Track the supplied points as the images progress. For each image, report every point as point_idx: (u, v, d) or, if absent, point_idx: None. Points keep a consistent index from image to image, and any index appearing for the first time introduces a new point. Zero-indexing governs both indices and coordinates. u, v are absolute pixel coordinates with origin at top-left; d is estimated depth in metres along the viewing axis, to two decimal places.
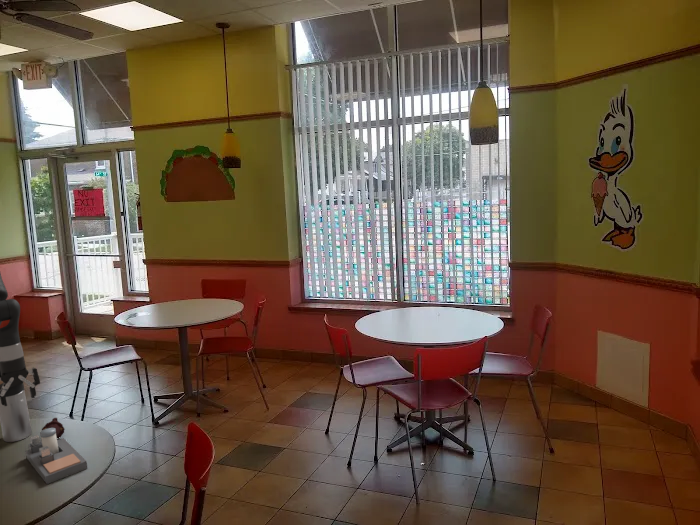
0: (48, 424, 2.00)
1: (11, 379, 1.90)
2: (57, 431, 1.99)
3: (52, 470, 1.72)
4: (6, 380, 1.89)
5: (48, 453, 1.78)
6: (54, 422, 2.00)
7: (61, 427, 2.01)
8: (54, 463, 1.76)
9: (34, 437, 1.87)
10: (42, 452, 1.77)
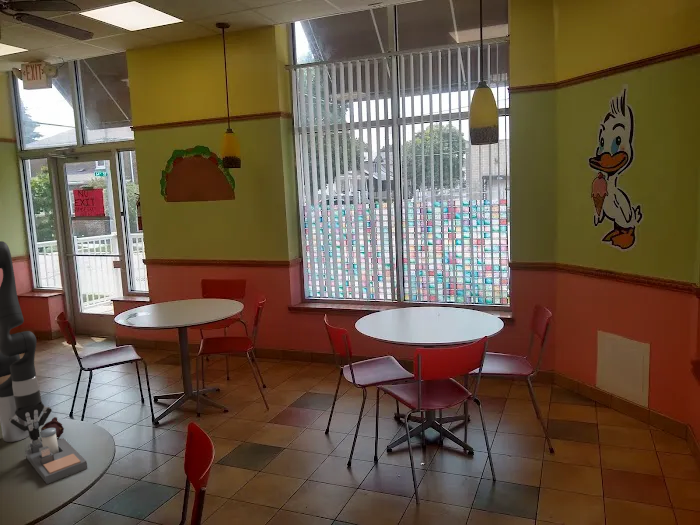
0: (47, 424, 2.00)
1: (27, 414, 1.83)
2: (56, 431, 1.99)
3: (52, 470, 1.72)
4: (23, 417, 1.84)
5: (48, 453, 1.78)
6: (53, 422, 2.01)
7: (61, 427, 2.02)
8: (54, 463, 1.76)
9: None
10: (42, 452, 1.77)
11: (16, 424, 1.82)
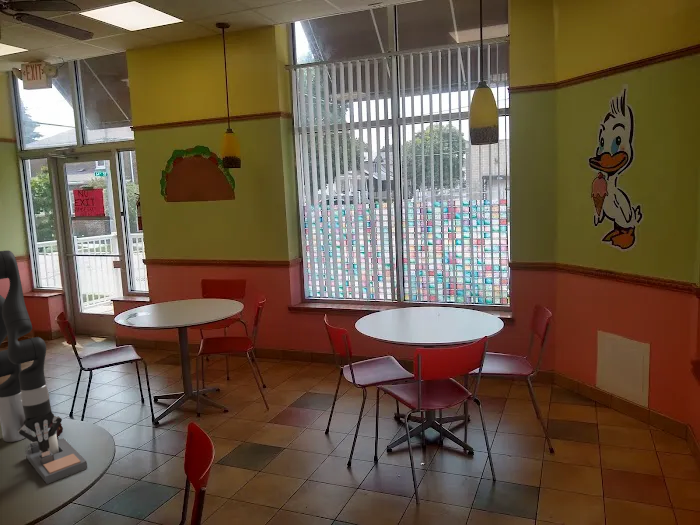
0: None
1: (36, 424, 1.75)
2: None
3: (52, 470, 1.72)
4: (33, 428, 1.75)
5: (48, 455, 1.78)
6: None
7: (60, 426, 2.02)
8: (54, 463, 1.76)
9: None
10: (42, 454, 1.77)
11: (25, 435, 1.73)
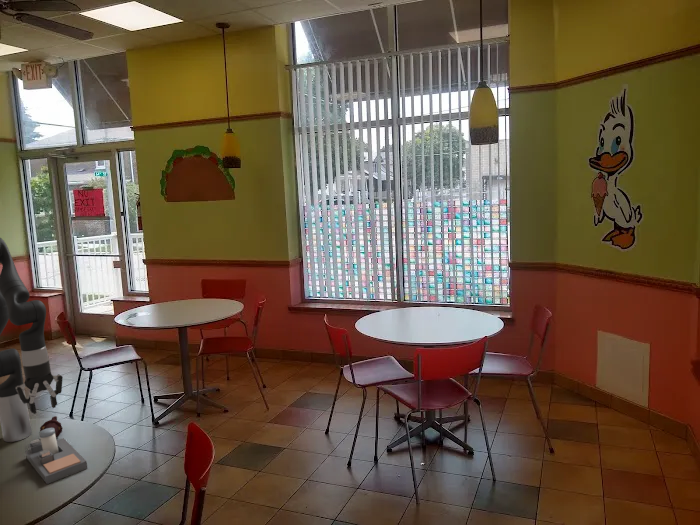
0: (46, 423, 2.01)
1: (36, 385, 1.79)
2: (55, 430, 2.00)
3: (52, 470, 1.72)
4: (31, 387, 1.79)
5: None
6: (52, 421, 2.02)
7: (60, 426, 2.02)
8: (54, 463, 1.76)
9: (35, 441, 1.87)
10: (43, 456, 1.77)
11: (20, 393, 1.77)
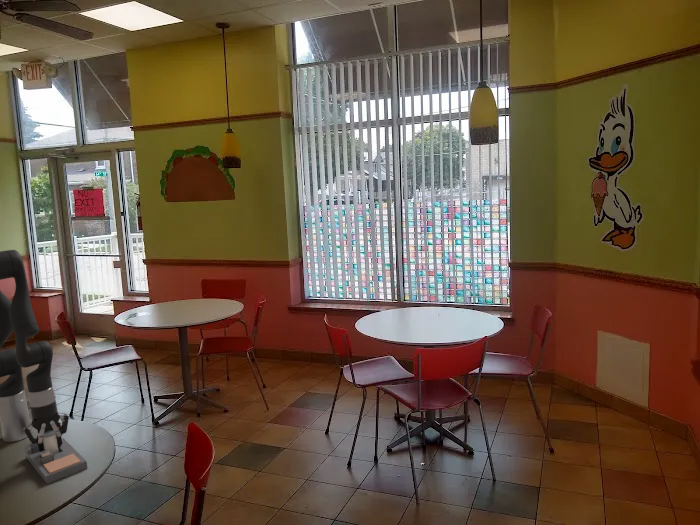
0: None
1: (43, 425, 1.82)
2: None
3: (52, 470, 1.72)
4: (38, 427, 1.81)
5: None
6: None
7: (59, 426, 2.03)
8: (54, 463, 1.76)
9: None
10: (43, 456, 1.77)
11: (28, 434, 1.79)
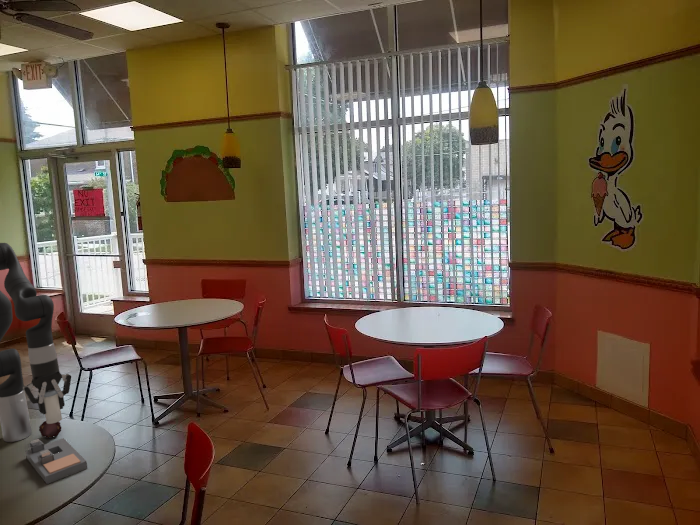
0: (45, 422, 2.02)
1: (44, 384, 1.71)
2: (53, 429, 2.00)
3: (52, 470, 1.72)
4: (39, 386, 1.71)
5: None
6: None
7: (58, 425, 2.03)
8: (54, 463, 1.76)
9: (35, 441, 1.87)
10: (43, 456, 1.77)
11: (28, 393, 1.69)
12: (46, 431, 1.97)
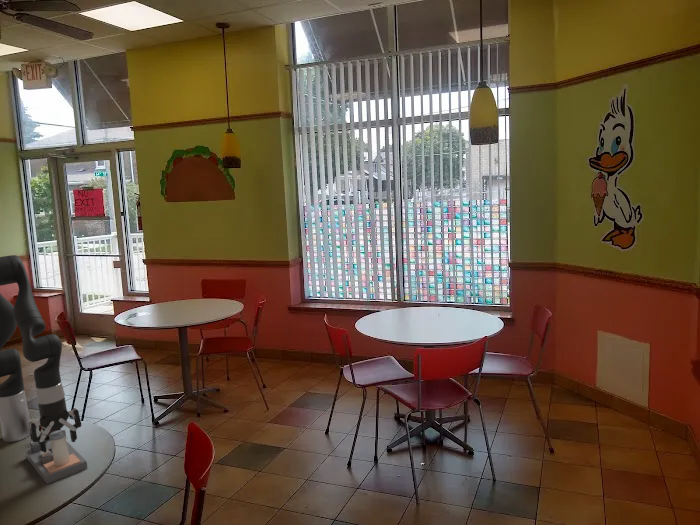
0: None
1: (51, 423, 1.72)
2: None
3: (52, 470, 1.72)
4: (46, 424, 1.72)
5: None
6: None
7: None
8: None
9: None
10: (43, 456, 1.77)
11: (33, 430, 1.69)
12: None
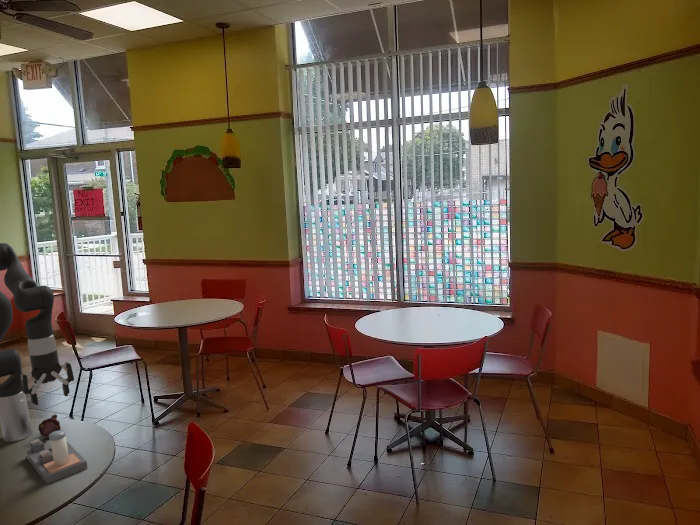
0: (45, 421, 2.03)
1: (43, 375, 1.69)
2: (52, 429, 2.01)
3: (52, 470, 1.72)
4: (37, 376, 1.69)
5: None
6: (50, 419, 2.03)
7: (57, 425, 2.04)
8: None
9: (35, 441, 1.87)
10: (43, 456, 1.77)
11: (24, 382, 1.67)
12: (44, 430, 1.98)
